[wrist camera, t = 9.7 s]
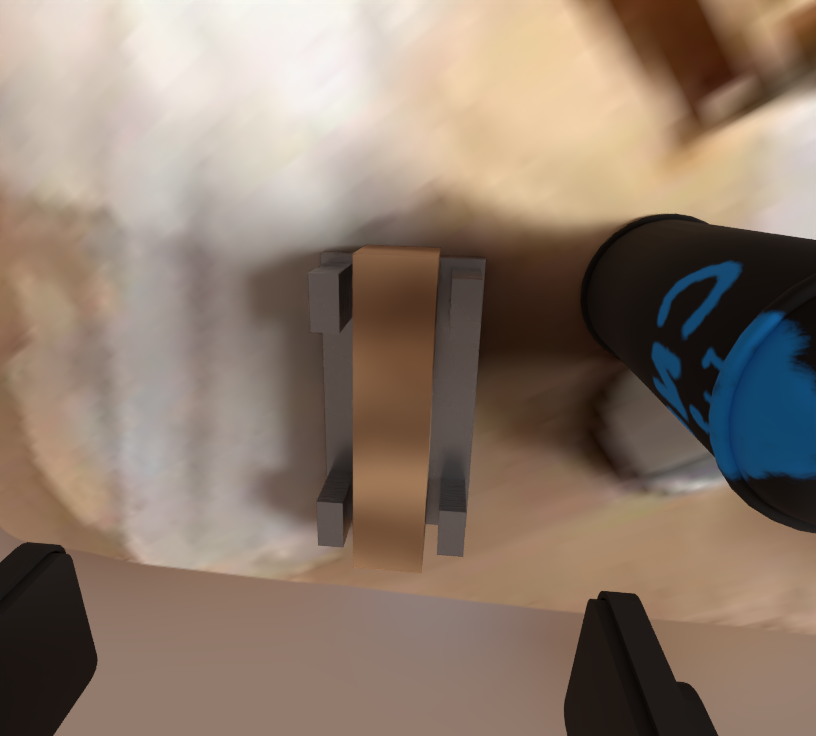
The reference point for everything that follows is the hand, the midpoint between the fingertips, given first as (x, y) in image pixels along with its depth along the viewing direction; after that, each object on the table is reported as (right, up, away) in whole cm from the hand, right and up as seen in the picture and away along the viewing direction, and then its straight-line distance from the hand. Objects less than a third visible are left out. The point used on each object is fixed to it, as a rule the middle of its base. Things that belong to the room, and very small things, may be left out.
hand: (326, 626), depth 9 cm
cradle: (+1, +3, +22) cm, 23 cm away
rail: (+1, +3, +21) cm, 22 cm away
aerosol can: (+15, +9, +19) cm, 26 cm away
